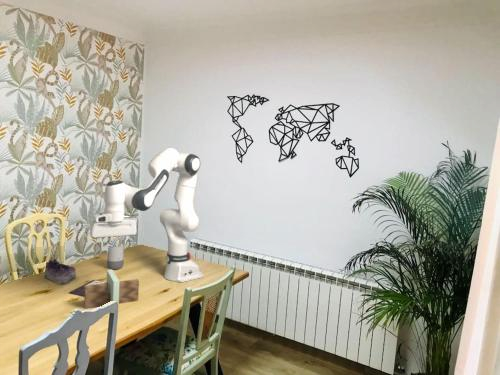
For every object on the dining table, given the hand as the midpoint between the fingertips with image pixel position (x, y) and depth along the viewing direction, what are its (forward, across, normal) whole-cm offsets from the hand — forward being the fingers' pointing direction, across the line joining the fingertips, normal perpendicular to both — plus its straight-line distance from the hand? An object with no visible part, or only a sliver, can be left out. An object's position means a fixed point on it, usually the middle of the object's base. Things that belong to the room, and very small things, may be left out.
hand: (113, 245), depth 175 cm
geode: (+29, +20, -40) cm, 54 cm away
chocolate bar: (+29, +7, -22) cm, 37 cm away
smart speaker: (+29, -11, -47) cm, 56 cm away
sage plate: (+29, 0, 0) cm, 29 cm away
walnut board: (+29, 0, 0) cm, 29 cm away
